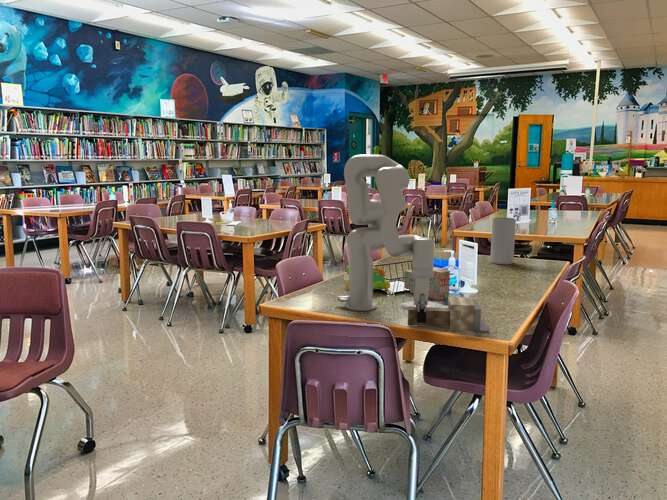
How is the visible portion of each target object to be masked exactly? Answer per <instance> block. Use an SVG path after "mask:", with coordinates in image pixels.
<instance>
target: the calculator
mask: <svg viewBox="0 0 667 500" xmlns="http://www.w3.org/2000/svg"><path fill="white" fill-rule="evenodd" d="M399 307H400V308H402V309H406V310H408V307H416V305H414V302H413V300H411V301H406V302H402V303H400V304H399ZM426 307H438V308H448V305H445V304H441V303H438V302H435V301H434V302H433V301H429V300H428V305H426Z"/></svg>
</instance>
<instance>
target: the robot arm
mask: <svg viewBox="0 0 667 500" xmlns="http://www.w3.org/2000/svg"><path fill="white" fill-rule="evenodd" d="M343 169H344V171H343V176H344V177H343V178H344V183H345V186H346V187H345V188H346V193H347V195H346V198H347V208H348V209H347V211H348V218H349V221H350V222H351V223H352V224H354V225H357V226H359V225H360V226H361V225H367V226H368V227H361V228H360V227H359V228H355V229H353V230H351V231H349V233H348V234H347V237H346V246H347V252H348V265H349V275H348V281H349V290H348V295H345V296H342V295H341V296H340V295H337V301H338V302H340V303H344V308H346V309H348V310H349V311H356V312H366V311H367V312H368V311H372V310H375V309H376V308H377V304H376V303H375V302H373V299H374V298H373V297H374V295H373V294H374V293H373V292H374V290H373V266H374V262H373V258H372V256H371V252H375V251H376V252H377V251H380V250H383V249H384V248H385V250H386V252H387V254H388V255H390V256H391V257H393V258H400V257H402V258H403V257H405V256H412V257H411V270H412V277H414V293H413V295H412V296H413V298H412V301H413V302H414V305H416V307H418V311H417V323H426V305H428V301H429V297H428V296H429V278H432V277H433V267H434V261H435V260H434V256H435V255H434V254H435V241H434V239H433V238H431V237H426V236H424V237H423V236H420V235H417V234H410V233H409V234H403V235H399V233H398V229H397V219H398V216H399V215H400V214H401V212H403V211H404V210H405V209H406V207H407V201H406V199H405V195H404V192H403V189H405V188H407V187H408V186H409V185H410V181H411V176H410V173H409V172H408V170H407V169H406V168H405V167H404V166H403V165H401V164H399V163H398V162H396V161H395V160H393V159H391V158H390V157H388V156H386V155H383V154H371V153H370V154H356V155H353V156H352V157H350V158H349V159H348V160H347V161H346V163H345V165H344V168H343ZM366 177H367V178H368V177H369V178H373V177H374V182H375V187H376V189H377V192H378V195H379V198H380V200H378V199H373V198H372V199H371V198H370V189H369V186H368V183H367V182H366V181H365V179H364V178H366ZM419 308H420V309H419Z"/></svg>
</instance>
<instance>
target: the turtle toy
mask: <svg viewBox="0 0 667 500" xmlns="http://www.w3.org/2000/svg"><path fill="white" fill-rule="evenodd" d="M345 271H346V274H347V275H348V276H349V264H348V265H346V268H345ZM385 274H386V272H385V270H384V269H383V268H382V267H380V268H378V267H376V266H374V265H373V291H374V290H380V289H388V288H389V289H390V288H391V282H390V281H389V280H386V279H385V276H384V275H385ZM345 288H346V290H348V291H349V280H347V281H346V283H345ZM389 289H388V290H389Z"/></svg>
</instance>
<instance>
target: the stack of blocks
mask: <svg viewBox="0 0 667 500" xmlns="http://www.w3.org/2000/svg"><path fill="white" fill-rule="evenodd" d="M450 277H451V271H450V270H449V269H445V268H441V267H436V266H433V277H432V278H429V296H428V299H429V298H430V299H433V300H436V301H442V300H447V299H448V298H449V297H450V281H451V280H450V279H451V278H450ZM403 286H404V288H406V289H409V290H410V292H409V293H413V294H414V277H412V269H407V270H404V285H403Z"/></svg>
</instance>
